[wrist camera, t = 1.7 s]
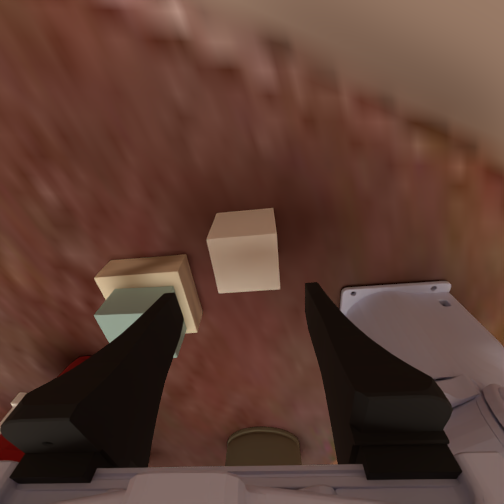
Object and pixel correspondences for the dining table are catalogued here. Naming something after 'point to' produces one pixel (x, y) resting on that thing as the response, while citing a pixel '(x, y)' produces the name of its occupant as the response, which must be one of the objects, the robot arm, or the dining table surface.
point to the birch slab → (155, 281)
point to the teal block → (130, 310)
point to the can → (262, 447)
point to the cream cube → (244, 251)
